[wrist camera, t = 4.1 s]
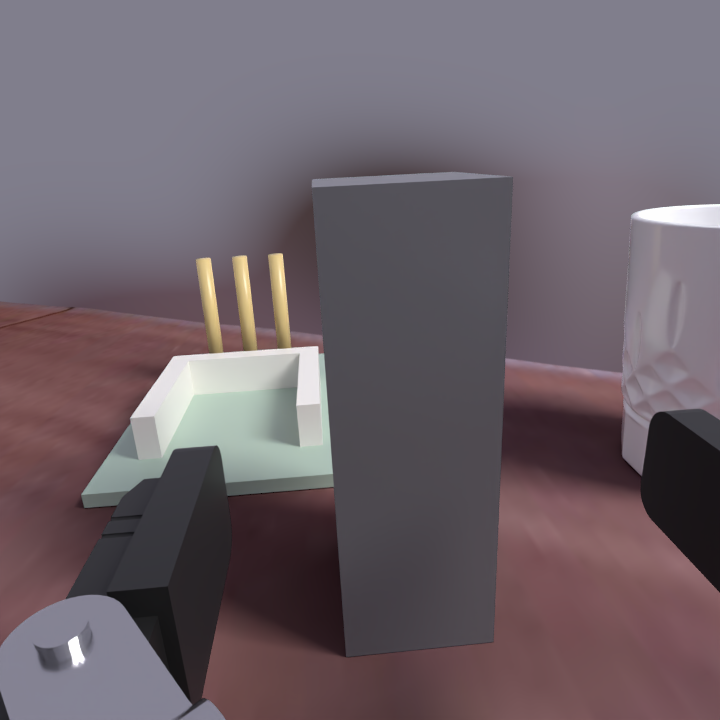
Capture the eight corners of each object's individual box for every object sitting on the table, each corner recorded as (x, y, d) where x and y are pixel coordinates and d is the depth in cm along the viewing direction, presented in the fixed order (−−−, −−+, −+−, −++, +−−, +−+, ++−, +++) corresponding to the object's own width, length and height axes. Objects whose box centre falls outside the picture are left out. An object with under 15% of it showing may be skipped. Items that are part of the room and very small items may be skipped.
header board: (361, 484, 23) (352, 301, 20) (84, 507, 22) (37, 322, 20) (343, 360, 37) (335, 244, 34) (172, 373, 36) (152, 254, 34)
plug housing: (493, 642, 15) (513, 176, 11) (346, 657, 15) (311, 187, 11) (450, 527, 20) (453, 171, 16) (338, 537, 20) (312, 179, 16)
